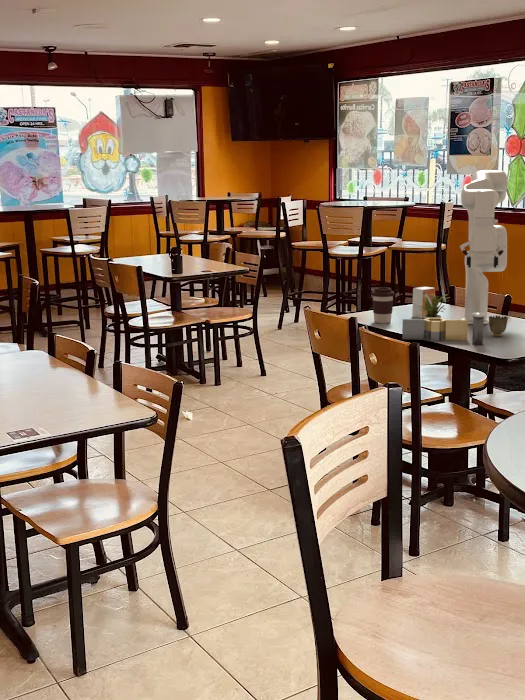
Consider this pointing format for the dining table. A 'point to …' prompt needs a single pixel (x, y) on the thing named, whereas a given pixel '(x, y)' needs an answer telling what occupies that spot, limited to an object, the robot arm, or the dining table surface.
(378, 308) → the coffee cup
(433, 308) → the house plant
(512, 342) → the dining table surface
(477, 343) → the hinge pin
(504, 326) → the cup
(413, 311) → the small box
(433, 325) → the hinge
